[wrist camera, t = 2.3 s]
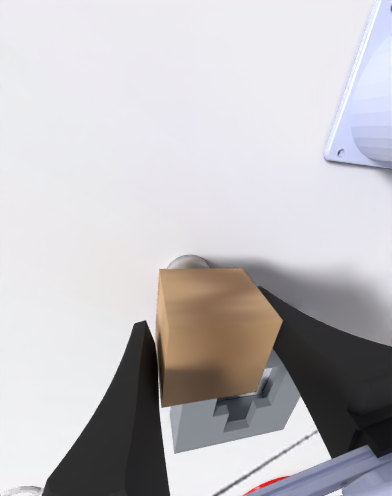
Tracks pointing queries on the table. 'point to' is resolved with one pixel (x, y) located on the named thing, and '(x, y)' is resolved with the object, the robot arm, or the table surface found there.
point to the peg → (210, 332)
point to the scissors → (30, 489)
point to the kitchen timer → (267, 484)
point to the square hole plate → (236, 413)
